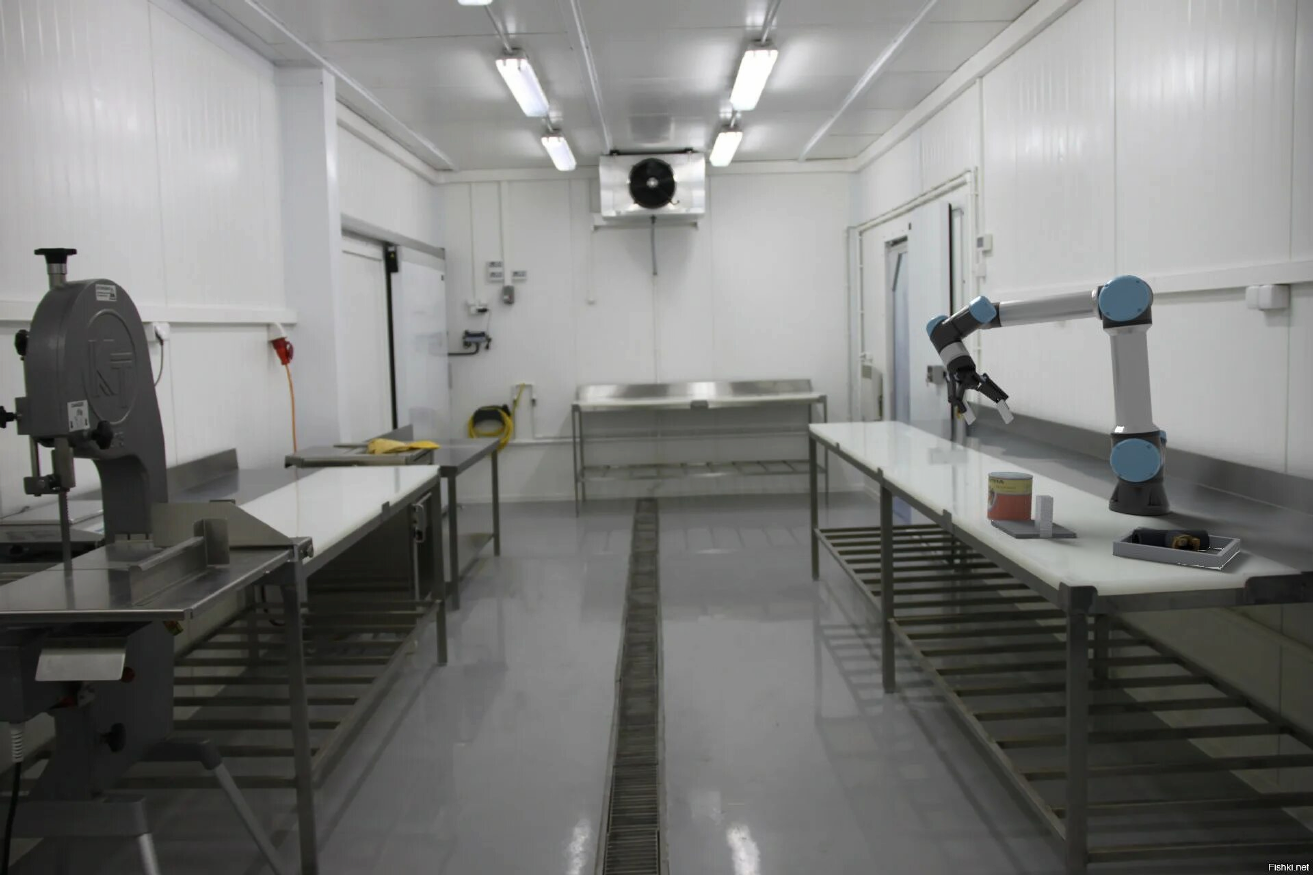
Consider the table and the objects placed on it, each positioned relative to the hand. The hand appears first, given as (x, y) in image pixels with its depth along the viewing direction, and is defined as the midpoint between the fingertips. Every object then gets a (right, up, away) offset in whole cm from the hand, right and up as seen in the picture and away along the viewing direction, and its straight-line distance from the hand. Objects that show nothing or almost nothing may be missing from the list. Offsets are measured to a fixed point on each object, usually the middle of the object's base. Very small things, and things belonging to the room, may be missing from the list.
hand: (991, 421), depth 249 cm
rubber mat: (+3, -28, -19) cm, 34 cm away
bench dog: (+3, -29, -25) cm, 39 cm away
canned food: (+3, -27, -4) cm, 27 cm away
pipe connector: (+26, -31, -43) cm, 59 cm away
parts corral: (+26, -31, -44) cm, 59 cm away
